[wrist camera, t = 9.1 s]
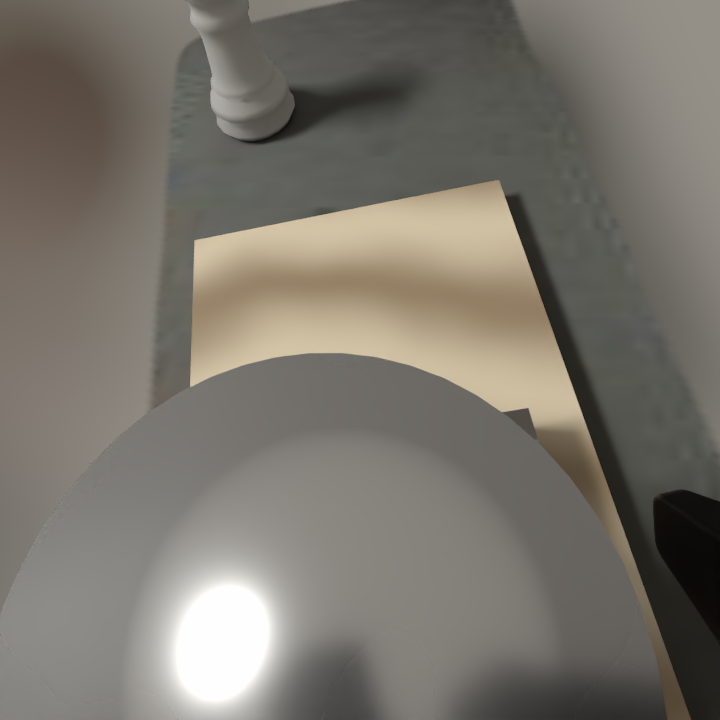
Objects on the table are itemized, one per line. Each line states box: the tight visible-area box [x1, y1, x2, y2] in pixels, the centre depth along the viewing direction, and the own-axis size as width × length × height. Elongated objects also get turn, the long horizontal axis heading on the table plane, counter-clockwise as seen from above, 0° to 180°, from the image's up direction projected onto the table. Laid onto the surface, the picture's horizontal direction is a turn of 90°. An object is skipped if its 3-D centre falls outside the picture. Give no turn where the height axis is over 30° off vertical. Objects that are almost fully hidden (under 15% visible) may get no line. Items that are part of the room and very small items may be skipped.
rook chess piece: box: [185, 0, 295, 142], centre depth 24 cm, size 4×4×8 cm
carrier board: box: [190, 180, 691, 720], centre depth 16 cm, size 24×14×3 cm, turn 7°
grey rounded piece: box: [0, 353, 667, 720], centre depth 9 cm, size 6×6×13 cm
